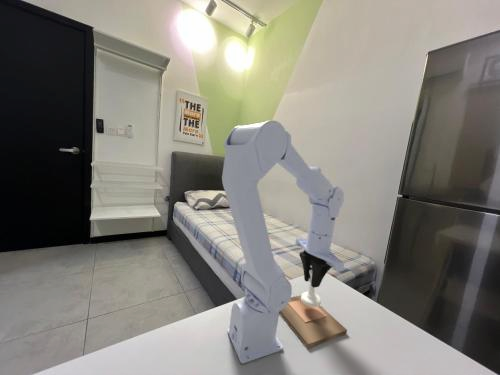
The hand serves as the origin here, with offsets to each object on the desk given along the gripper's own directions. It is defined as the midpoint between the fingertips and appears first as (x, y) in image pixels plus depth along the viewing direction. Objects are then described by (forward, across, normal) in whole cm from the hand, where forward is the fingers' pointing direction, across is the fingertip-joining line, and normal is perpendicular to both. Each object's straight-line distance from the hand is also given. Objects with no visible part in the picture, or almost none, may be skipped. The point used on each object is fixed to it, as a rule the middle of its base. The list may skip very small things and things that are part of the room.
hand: (311, 283), depth 51 cm
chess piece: (+5, 0, -1) cm, 5 cm away
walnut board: (+8, -1, +1) cm, 9 cm away
